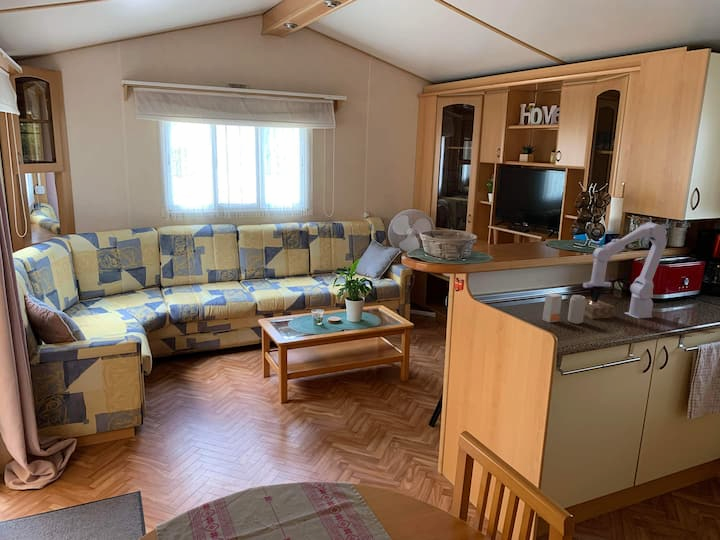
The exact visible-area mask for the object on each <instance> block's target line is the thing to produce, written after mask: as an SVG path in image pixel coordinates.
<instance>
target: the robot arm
mask: <svg viewBox="0 0 720 540" xmlns="http://www.w3.org/2000/svg"><path fill="white" fill-rule="evenodd" d="M667 234H668V231H667V229H666V228H665V226H664V225H663V224H658V223H656V222H655V223H654V222H653V221H647V222H645V223H644V224H641V225H639V226H638V227H637V228H636V229H635V230H633V231H631V232H630V233H628V234H626V235H625V236H624V237H622V238H613V239H611V241H610V242H608V243H606V244H603V245H602V246H601V247H597V248H595V249H594V251H593V252H592V257H593V265H592V272H591V276H590V280H589V281H586V282H583V283H582V287H583V288H585V289H588V290H589V293H590V297H591V298H590V299H592V302H597V301H598V300H599V299H600V296H601V295H602V294H603V292H604V291H605V287H607V288H608V287H611V285H612V282H611V281H605V279H606V272H607V267H608V266H607V265H608V262H609V260H611V257H612V256H614V255H616V254H618V253H619V252H622V251H623V250H624V249H625V247H626V246H627V245H629V244H631V243H633V242H634V241H636V240H639V239H640V238H647V239H649V241H650V242H651V244H652V245H651V247H650V249H649V252H648V254H647V257H646V259H645V262H644V264H643V266H642V267H643V268H642V270H641V272H640V275H639V276H638V277H636V278H635V279H634V281H633V283H632V284H630V287H629V290H630V293H631V297H630V303H629V304H630V305H629V310H628V311H627V312H624V314H625V315H627V316H630V317H632V318H635V319H647V318H648V319H649V318H653V315H652V313H653V308H654V307H653V306H654V302H653V300H652V298H651V297H652V296H653V293H654V291H653V290H654V287H655V285H654V281H653V279H654V276H655V274H656V271H657V268H658V267H659V264H660V262H661V259H662V256H663V254H664V251H665V249H666V246H667V244H668V242H667Z"/></svg>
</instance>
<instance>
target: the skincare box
mask: <svg viewBox="0 0 720 540" xmlns="http://www.w3.org/2000/svg"><path fill="white" fill-rule="evenodd" d="M562 299H563V295H561V294H559V293H558V294H557V293H550V294H549V293H547V294H545V298H544V306H543V310H542V311H543V312H542V319H541V320H542V321H544V322H547V323H554V322H555V323H556V322H557V323H558V322H559V320H560V313H561V309H562V308H561V307H562Z"/></svg>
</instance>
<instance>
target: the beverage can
mask: <svg viewBox="0 0 720 540" xmlns="http://www.w3.org/2000/svg"><path fill="white" fill-rule="evenodd" d="M586 300H587V299H586V297H585V296H583V295H580V294H572V295H571V297H570V300H569V306H568V307H569V308H568V314H567V321H568V322H569V323H570V322H571V323H570V324H573V323H574V325H581V324H582V323H583V322H584V317H585V316H584V310H585V303H586ZM580 323H581V324H580Z"/></svg>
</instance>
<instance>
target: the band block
mask: <svg viewBox="0 0 720 540" xmlns="http://www.w3.org/2000/svg"><path fill="white" fill-rule="evenodd" d="M590 300H592V299H591V298H590V299H586V303H585V310H584V317H586V316H587V317H586V318H588V317H589V319H591V320H592V319H594V320H595V318H596V319H607V318H614V316H615V313H616V306H614V305H611V304H609V303H606V302H604V301H602V300H599V299H598V302H599V305H591V304H589V301H590Z"/></svg>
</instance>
